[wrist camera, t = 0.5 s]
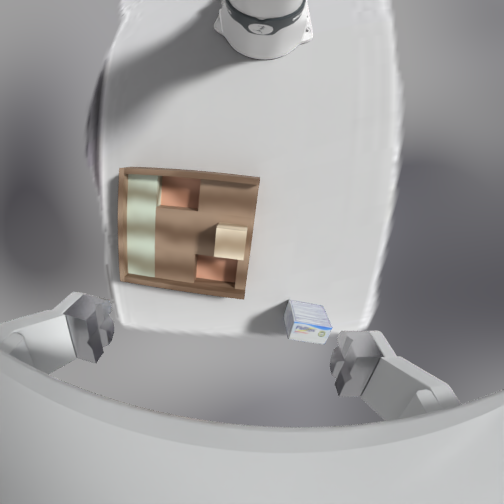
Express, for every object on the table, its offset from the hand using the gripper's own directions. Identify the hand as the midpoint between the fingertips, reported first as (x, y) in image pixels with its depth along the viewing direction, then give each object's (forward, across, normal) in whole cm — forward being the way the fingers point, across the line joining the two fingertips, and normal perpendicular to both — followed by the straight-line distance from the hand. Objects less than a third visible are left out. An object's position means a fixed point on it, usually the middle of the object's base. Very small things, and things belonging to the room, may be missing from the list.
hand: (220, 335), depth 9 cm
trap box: (+43, +10, +8) cm, 45 cm away
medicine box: (+43, -15, +23) cm, 51 cm away
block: (+40, +2, +8) cm, 41 cm away
